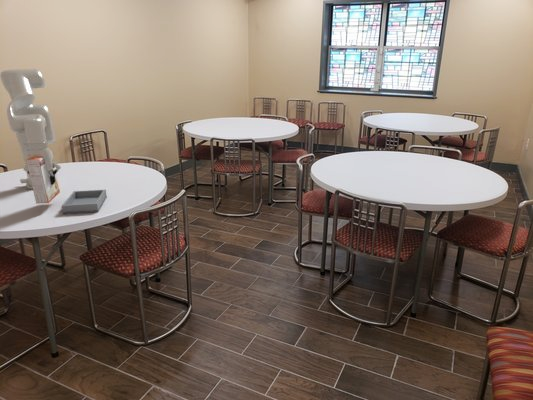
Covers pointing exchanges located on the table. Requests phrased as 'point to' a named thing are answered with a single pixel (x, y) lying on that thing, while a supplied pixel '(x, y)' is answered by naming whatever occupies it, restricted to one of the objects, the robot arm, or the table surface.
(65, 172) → the table surface
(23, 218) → the table surface
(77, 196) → the tray
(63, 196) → the table surface
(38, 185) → the cracker box
